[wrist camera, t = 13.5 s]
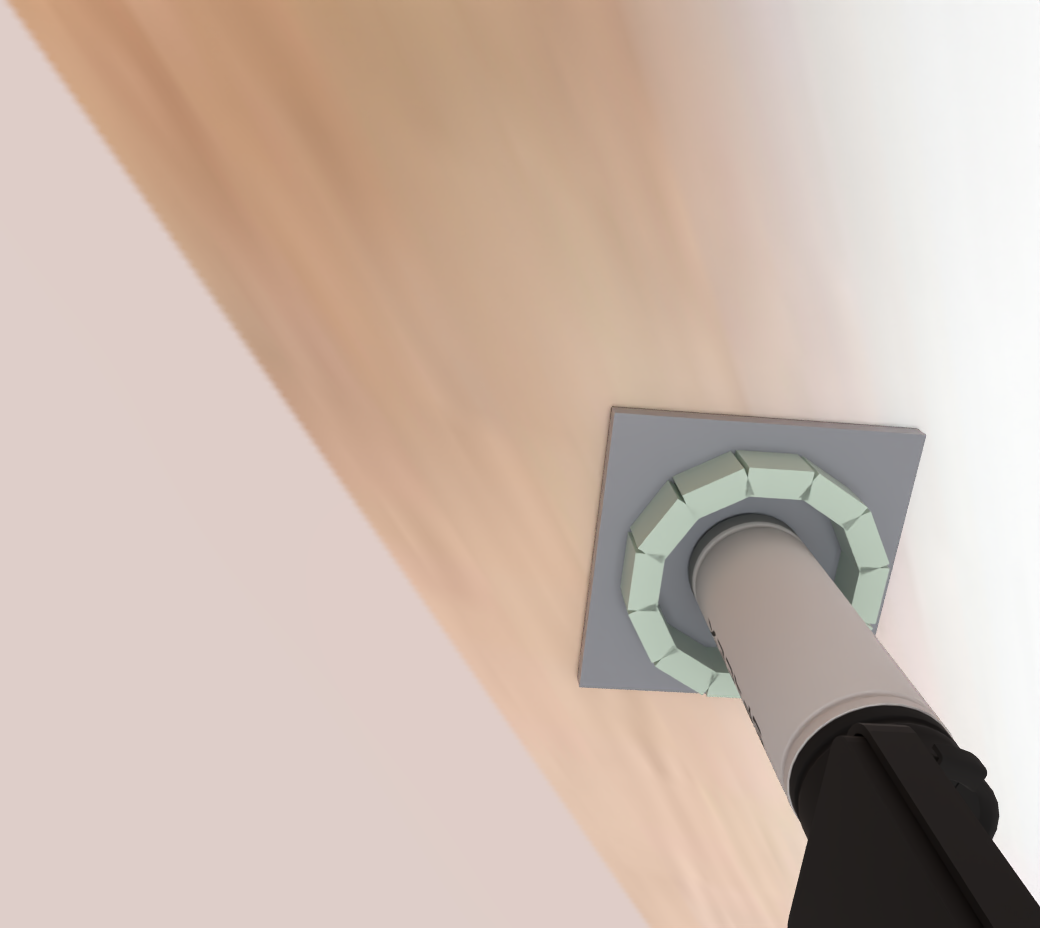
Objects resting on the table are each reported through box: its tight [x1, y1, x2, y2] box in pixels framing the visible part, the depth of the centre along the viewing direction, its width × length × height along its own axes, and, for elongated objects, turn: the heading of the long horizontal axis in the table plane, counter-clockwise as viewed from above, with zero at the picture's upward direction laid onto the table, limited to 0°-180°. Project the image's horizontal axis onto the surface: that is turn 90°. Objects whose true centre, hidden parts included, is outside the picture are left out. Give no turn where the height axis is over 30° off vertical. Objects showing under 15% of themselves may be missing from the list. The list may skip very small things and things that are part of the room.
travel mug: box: [688, 514, 999, 839], centre depth 39 cm, size 6×7×20 cm
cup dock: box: [578, 407, 926, 698], centre depth 48 cm, size 16×16×4 cm
